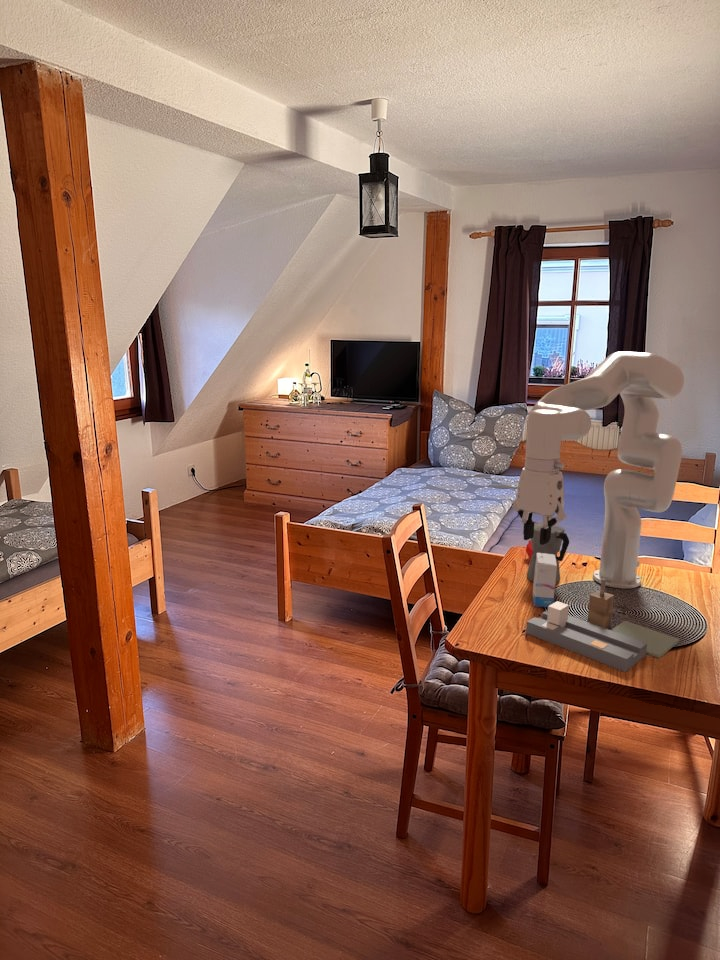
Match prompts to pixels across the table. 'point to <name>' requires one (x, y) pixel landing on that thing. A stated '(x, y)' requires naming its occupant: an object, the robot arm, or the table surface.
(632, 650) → the switch panel
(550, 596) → the ink box
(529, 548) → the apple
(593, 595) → the brown block
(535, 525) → the coffeepot
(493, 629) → the table surface
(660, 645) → the mat
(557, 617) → the switch tab
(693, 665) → the table surface
